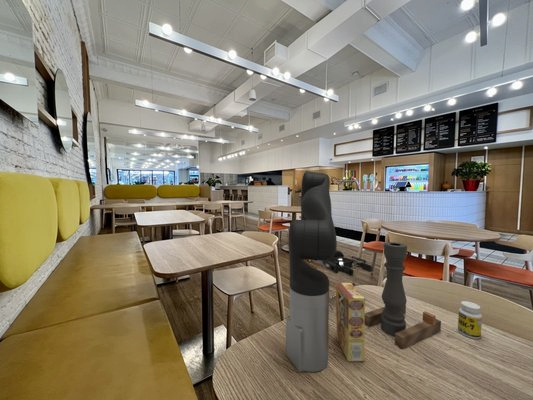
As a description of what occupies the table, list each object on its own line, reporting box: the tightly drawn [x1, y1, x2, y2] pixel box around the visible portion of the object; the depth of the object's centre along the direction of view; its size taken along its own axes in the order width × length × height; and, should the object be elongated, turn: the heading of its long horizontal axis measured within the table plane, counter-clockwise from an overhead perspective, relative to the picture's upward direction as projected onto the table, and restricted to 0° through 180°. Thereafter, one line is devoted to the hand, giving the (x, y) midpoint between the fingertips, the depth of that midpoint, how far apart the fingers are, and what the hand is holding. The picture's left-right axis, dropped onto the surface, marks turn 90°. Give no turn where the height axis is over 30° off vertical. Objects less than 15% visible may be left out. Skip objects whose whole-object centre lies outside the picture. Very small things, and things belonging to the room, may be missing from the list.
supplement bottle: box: [457, 300, 483, 340], centre depth 61 cm, size 5×5×8 cm
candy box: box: [335, 282, 366, 362], centre depth 55 cm, size 9×4×15 cm, turn 1°
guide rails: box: [365, 304, 442, 350], centre depth 64 cm, size 17×13×6 cm
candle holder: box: [380, 241, 408, 338], centre depth 62 cm, size 6×6×25 cm
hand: (362, 271), depth 72 cm, fingers open, 8 cm apart
